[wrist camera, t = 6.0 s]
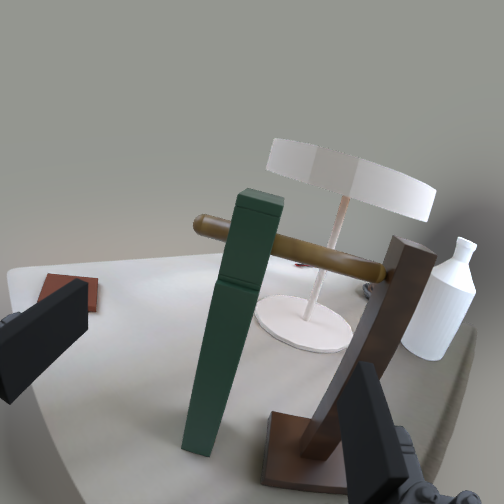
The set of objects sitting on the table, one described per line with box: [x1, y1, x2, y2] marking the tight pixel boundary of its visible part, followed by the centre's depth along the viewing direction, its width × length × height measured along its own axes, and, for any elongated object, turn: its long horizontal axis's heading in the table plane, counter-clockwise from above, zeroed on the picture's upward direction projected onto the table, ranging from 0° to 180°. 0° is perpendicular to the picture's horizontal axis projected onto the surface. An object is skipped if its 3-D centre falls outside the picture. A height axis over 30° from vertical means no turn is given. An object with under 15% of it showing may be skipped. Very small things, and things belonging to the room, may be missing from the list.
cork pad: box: [37, 273, 98, 312], centre depth 47 cm, size 10×10×1 cm
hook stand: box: [193, 214, 437, 494], centre depth 26 cm, size 22×10×25 cm, turn 84°
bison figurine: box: [363, 283, 375, 298], centre depth 82 cm, size 12×7×10 cm, turn 135°
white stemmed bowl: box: [255, 138, 436, 353], centre depth 56 cm, size 30×30×31 cm
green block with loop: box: [181, 188, 284, 457], centre depth 26 cm, size 3×6×25 cm, turn 174°
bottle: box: [401, 237, 477, 361], centre depth 57 cm, size 12×12×25 cm
